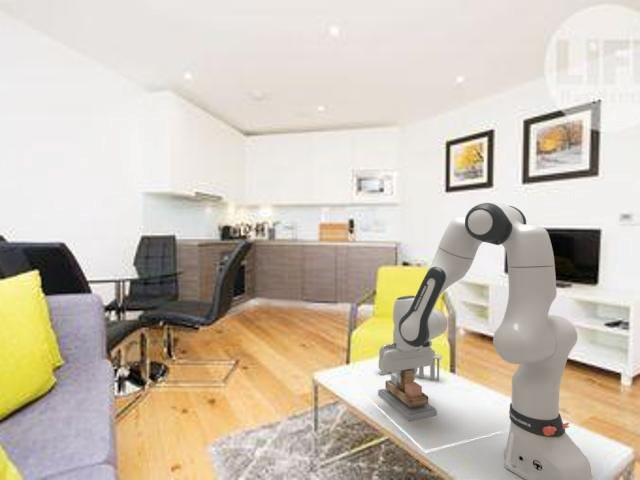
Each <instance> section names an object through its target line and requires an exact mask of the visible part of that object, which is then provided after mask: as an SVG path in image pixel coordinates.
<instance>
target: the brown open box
mask: <svg viewBox="0 0 640 480" xmlns="http://www.w3.org/2000/svg"><path fill="white" fill-rule="evenodd" d="M400 375H401V376H402V377H404V382H401V383H399V382H398V388H397V387H395V386H394V385H393V384H391V379H389V380H385V388H387V389H388V390H389V391H390V392H392V393H393V394H394V395H395V396H397V397H398V398H399V399H400V400H402V401H403V402H404V403H405V404H407V405H408V406H409V407H415V406H420V405H425V404H429V396H428V395H427V394H425V393H424V392H423V391H422V396H421V397H416V398H410V397H408V396H407V395H406V394H405V384H406V383H411V382H415V380H414V371H413V370H412V369H407V370H401V373H400Z"/></svg>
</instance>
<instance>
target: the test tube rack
mask: <svg viewBox="0 0 640 480" xmlns="http://www.w3.org/2000/svg"><path fill="white" fill-rule="evenodd" d="M389 344H390V343H387V345H389ZM432 351H433V363H432V365H431V366H429V368H430V369H429V372H430V373H429V377H430V380H431V381H435V375H436V381H437V382H440V360H442V358H443V354H438V353H436V351H435V349H432ZM436 361H437V362H436ZM435 364H436V365H437V367H436V365H435ZM424 368H425V367H419V368H418V376H419V379H424V375H425V374H424V370H425V369H424ZM435 368H436V369H435ZM435 372H436V374H435ZM393 373H395V372H389V373H384V372H382V371H381V370H380V372H379V376H389V375H390V376H391V374H393Z"/></svg>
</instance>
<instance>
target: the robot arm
mask: <svg viewBox="0 0 640 480" xmlns="http://www.w3.org/2000/svg"><path fill="white" fill-rule="evenodd" d="M483 243H487V244H492V245H496V246H500V245H501V246H502V247H503V248H504V250H505V251H506V259H507V276H508V277H507V278H508V299H507V304H506V307H505V312H504V316H503V319H502V320H501V323H500V325H499V326H498V327H497V329H496V330H495V332H494V334H493V338H492V340H493V341H492V343H493V347H494V350H495V352H496V353H497V355H498V356H499V357H500V358H501V359H502V360H503V361H505V362H507V363H508V364H513V365H518V367H517V369H516V370H515V372H514V373H513V374H512V378H511V402H510V403H509V411H508V413H509V420H510V424H509V425H510V426H509V433H508V439H507V443H506V446H505V448H504V452H503V455H504V459H505V461H504V468H506V469H507V470H509V471H510V472H512V473H514V474H515V475H517V476H519V477H520V478H522V479H524V480H599V479H598V478H597V477H595V476H594V475H593V474H592V468H591V463H590V461H589V459H588V457H587V456H586V455H585V453H584V452H582V450H581V448H580V447H579V446H578V445H577V444H576V443H575V442H574V441H573V440H572V438H571V437H570V436H569V435H568V434H567V432H566V429H568V428H569V424H570V423H569V422H565V423H564V422H563V419H562V416H561V414H560V412H559V411H560V410H559V409H560V389H561V381H562V379H563V374H564V371H565V369H566V368H565V367H566V365H567V362H568V361H567V360H568V358H569V357H570V353H571V351H572V350H573V348H574V347H575V346H576V344H577V343H578V342H577V341H578V332H577V329H576V327H575V326H574V324H573V323H572V322H571V321H570V320H569V319H567V318H565V317H563V316H560V315H559V316H558V315H551V314H549V312H550V308H551V306H552V304H553V302H554V301H555V299H556V297H557V293H558V292H557V280H556V278H557V276H556V269H555V268H556V264H555V256H554V250H553V246H552V241H551V238H550V235H549V232H548V231H547V229H545V228H544V227H543V226H540V225H538V224H532V223H531V224H530V223H529V224H527V219H526V217H525V214H524V213H523V212H522V211H521V210H520V209H519V208H517V207H515V206H512V205H506V204H504V203H501V202H500V203H497V202H495V203H494V202H493V203H492V202H483V203H479V204H477V205H475V206H473V207H472V208H471V209H469V210H468V212H467V214H466V215H465V216H455V218H453V219H452V220H451V221H450V223H449V224H448V226H447V227H446V229H445V231H444V233H443V234H442V237H441V238H440V242H439V244H438V247H437V249H436V252H435V255H434V256H433V259H432V262H431V264H430V266H429V267H428V268H429V269H428V270H427V272H426V274H425V276H424V278H423V279H422V281H421V284H420V285H419V288H418V290H417V292H416V295H405V296H399V297H397V298H396V299H395V300H394V303H393V310H392V321H393V326H394V327H393V331H392V343H388V344H389V345H388V344H384V345H382V346H381V347H380V348H379V352H378V353H379V357H378V369H379V371H380V372H381V371H382V372H384V373H389V372H395V374H396V375H397V381H398V382H399V383H401V382H404V377H402V376H401V375H400V373H401V370H407V369H412V370H413V371H414V381H415V378H416V377H415V376H416V374H417V372H419V367H424V368H425V367H430V366H431V365H432V363H433V351H432V345H433V342H432V340H434V339H435V338H438V337H440V336H441V335H443V334H444V333H445V332H446V331H447V326H448V322H447V318H446V316H445V314H444V313H443V312H442V310H440V309H438V308H435V307H436V305H437V302H438V300H439V299H440V296H441V295H442V294H443V293H444V292H445V291H446V290H447V289H448V288H449V287H451V286H452V285H454V284H455V283H457V282H458V281H460V280H461V279H463V278H464V277H465V276H466V275H467V273H468V272H469V270H470V268H471V266H472V265H473V263H474V260H475V258H476V255H477V252H478V250H479V247H480V245H482V244H483Z"/></svg>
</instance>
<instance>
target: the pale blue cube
mask: <svg viewBox="0 0 640 480" xmlns="http://www.w3.org/2000/svg"><path fill="white" fill-rule="evenodd" d="M390 380H391V384H393V385H394V386H395V387H397V388H398V381H397V375H396V374H395V373H393V374H390Z"/></svg>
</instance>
